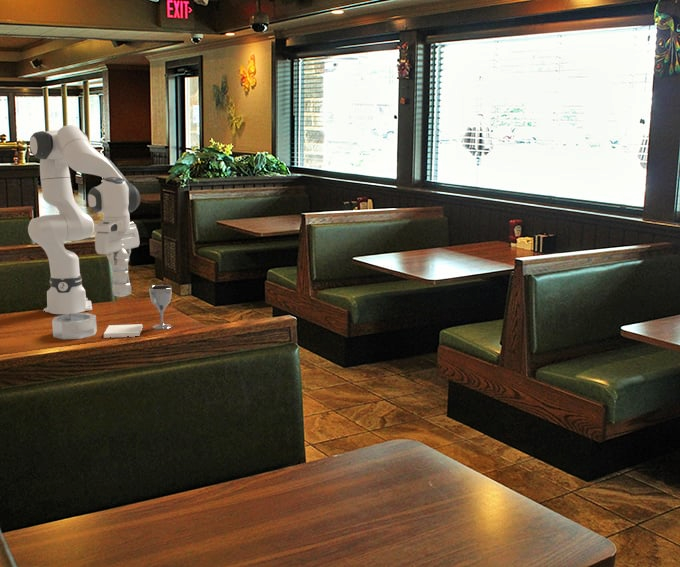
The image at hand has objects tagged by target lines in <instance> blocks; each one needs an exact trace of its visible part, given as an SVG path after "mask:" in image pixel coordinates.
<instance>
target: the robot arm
mask: <svg viewBox="0 0 680 567" xmlns="http://www.w3.org/2000/svg"><path fill="white" fill-rule="evenodd" d="M29 148H30V152H31V154H32V155H33V157H35V158H36V159H39V176H40V178H39V179H40V185H41V186H40V187H41V192H42V198H43V200H44V201H45V202H46V203H47V204H49V205H50V206H53V207H55V208H56V209H57V211H58V213H59V214H47V215H42V216H38V217H35V218H32V219H31V220H30V221H29V224H28V225H27V233H28V235H29V238H30V239H31V240H32V242H34V243H36V244H37V245H39V247H41V248H42V250H43V251H44V252H45V254H46V257H47V258H48V264H49V272H50V277H49V286H50V288H48V290H47V291H46V303H47V305H46V307H44V308H43V312H44V311H45V312H44V313H50V314H54V315H65V314H70V313H84V312H86V311H88V312H89V311H92V310H93V306H92V301H91V300H89V298H88V297H87V295H86V289H85V287H84V286H83V278H82V274H81V273H80V272H81V271H80V270H81V269H80V258H79V256H78V255H77V254H76V253H75V252H73V251H71V250H68V249H67V248H66V247H65V244H64V243H65V242H68V243H69V242H75V241H81V240H86V239H88V238H91V237H92V235H93V234H94V232H96V233H95V234H94V248H95V252H96V254H98V255H106V258H107V260H108V263H109V266H112V265H116V260H114V258H113V256H114V252H118V251H120V250H121V249H122V248H124V249H125V250H126V251H127V253H128V262H130V256H131V253H132V249H135V248H139V246H140V235H139V231H138V227H137V224H135V222H134V221H131V219H130V218H131V217H130V213H133V212H134V211H136V209H138V207H139V206H140V204H141V194H140V192H139V190H138V188H136V186H135V185H133V184H132V183H131V182H129V181H128V180H127V178H126V177H125V176H124V174H123V173H122V172H121V171H120V169H119V168H118V167H117V166H116V165H115V164H114V162H112V160H111V159H110V158H108V157H106V156H105V155H103V154H101V153H100V151H98V150H96V148H95V147H94V146H92V143H91V142H90V140H89V137H88V135H87V134H86V133H85V132H84V131H82V130H81V129H80V127H77V126H75V125H71V124H69V125H68V124H67V125H64V126H62V127H61V128H59V130H57V129H56V130H47V131H43V130H41V131H37V132H33V134H32V135H31V136H30V140H29ZM70 168H71V170H73V171H75V172H77V173H81V174H88V175H93V176H97V177H101V178H103V179H102V183H100V184H99V185H97V186H94V187H91V189H90V190H89V192H88V193H87V206H88V208H89V209H90V210H91V211H92V212H93V213H95V214H103V219H101V221H99V222H98V223H96V225H95V222H94V219H93V218H92V217H91V216H90V215H89V214H88V213H86V212H85V211H83V210H82V209H81V207H80V206H79V205H78V203H77V201H76V198H75V197H74V193H73V192H74V191H73V188H72V187H73V186H72V182H71V181H72V179H71V173H70ZM121 245H123V246H121Z"/></svg>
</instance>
